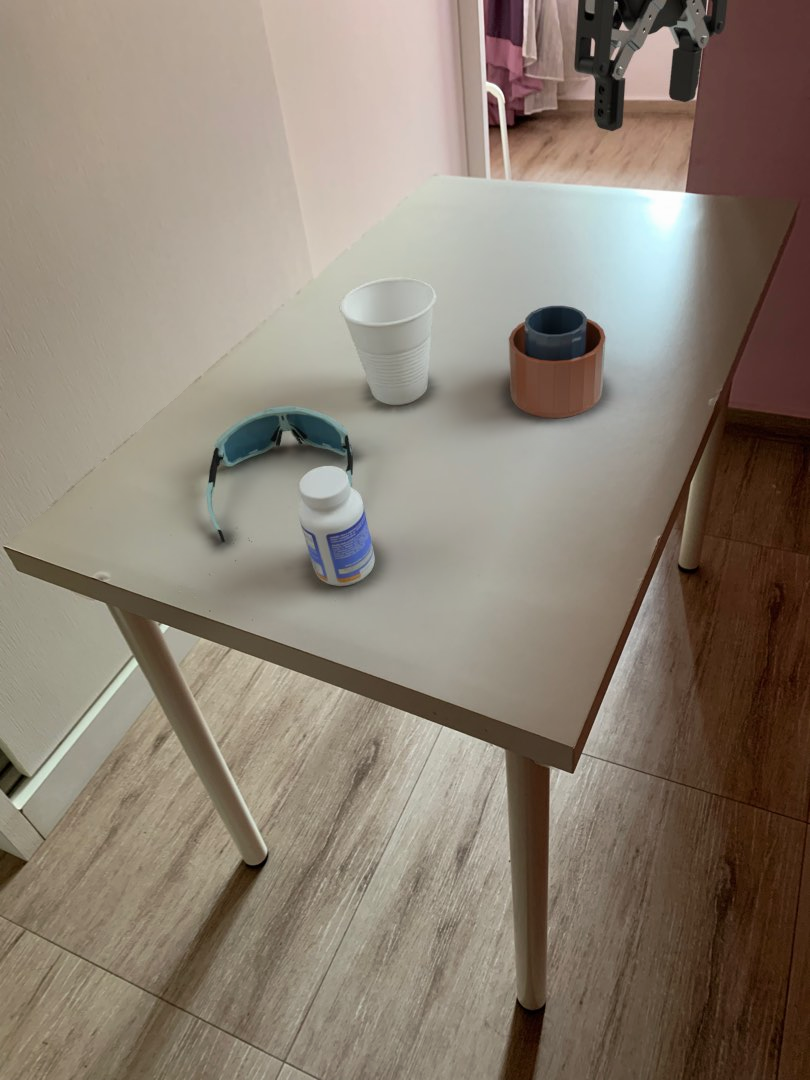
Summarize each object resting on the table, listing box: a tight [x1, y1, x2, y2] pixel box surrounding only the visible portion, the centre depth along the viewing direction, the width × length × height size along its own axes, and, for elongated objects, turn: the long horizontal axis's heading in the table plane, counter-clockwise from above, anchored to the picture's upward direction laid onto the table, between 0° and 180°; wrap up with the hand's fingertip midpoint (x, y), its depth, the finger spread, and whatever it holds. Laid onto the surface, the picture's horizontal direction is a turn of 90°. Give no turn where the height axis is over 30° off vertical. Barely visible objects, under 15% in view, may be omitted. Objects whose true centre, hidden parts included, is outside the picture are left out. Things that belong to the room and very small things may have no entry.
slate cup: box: [524, 305, 588, 361], centre depth 83 cm, size 6×6×8 cm
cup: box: [338, 276, 437, 406], centre depth 86 cm, size 10×10×11 cm
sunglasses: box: [205, 405, 354, 543], centre depth 78 cm, size 14×15×5 cm
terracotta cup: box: [508, 318, 607, 419], centre depth 84 cm, size 10×10×6 cm
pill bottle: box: [297, 465, 376, 587], centre depth 67 cm, size 5×5×10 cm
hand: (646, 113), depth 67 cm, fingers open, 8 cm apart
